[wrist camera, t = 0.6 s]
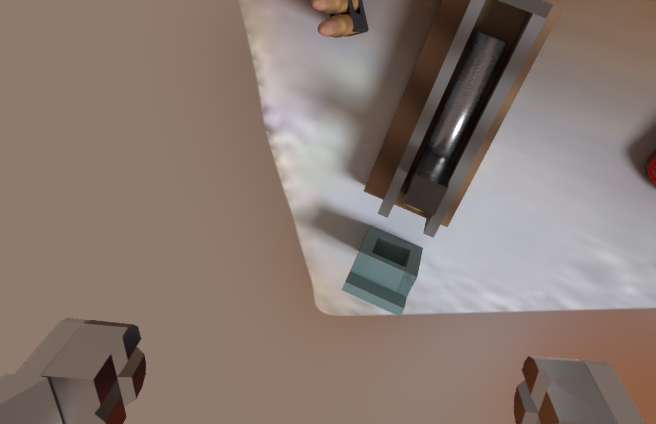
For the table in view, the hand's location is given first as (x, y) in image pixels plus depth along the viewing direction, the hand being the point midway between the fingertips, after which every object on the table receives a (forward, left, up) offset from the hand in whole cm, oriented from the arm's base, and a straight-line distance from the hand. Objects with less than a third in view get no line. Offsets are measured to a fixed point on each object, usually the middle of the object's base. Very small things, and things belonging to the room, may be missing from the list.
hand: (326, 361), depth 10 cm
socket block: (+18, +2, -38) cm, 42 cm away
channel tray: (+1, +2, -38) cm, 38 cm away
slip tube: (+2, +2, -36) cm, 36 cm away
